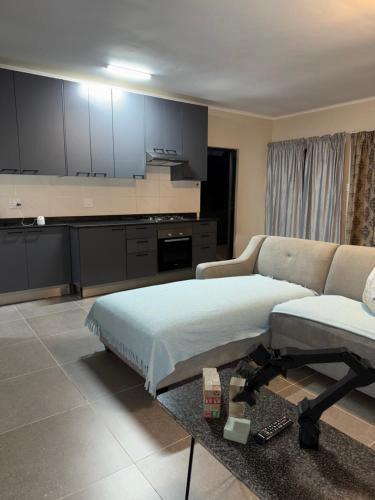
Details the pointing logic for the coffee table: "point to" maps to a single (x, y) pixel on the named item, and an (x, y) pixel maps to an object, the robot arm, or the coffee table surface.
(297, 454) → the coffee table surface
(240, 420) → the sage base block
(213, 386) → the stack of blocks
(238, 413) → the maple pillar
